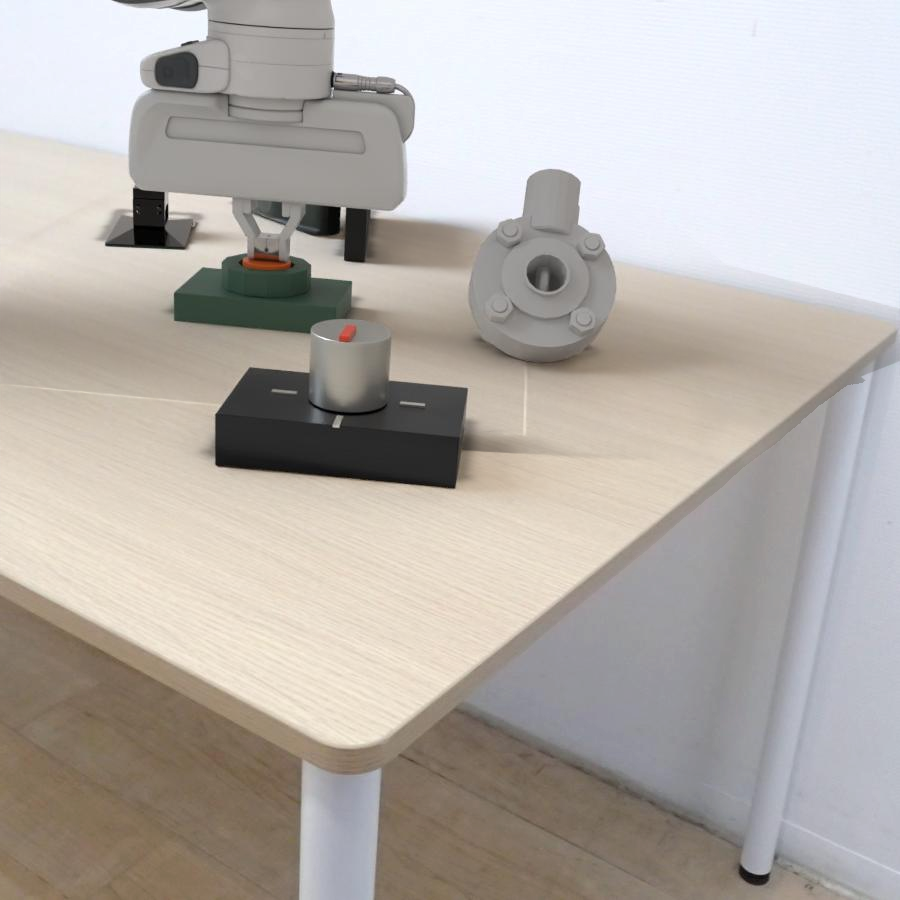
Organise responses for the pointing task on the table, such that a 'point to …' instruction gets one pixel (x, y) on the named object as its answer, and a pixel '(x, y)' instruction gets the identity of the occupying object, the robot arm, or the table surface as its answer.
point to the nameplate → (356, 233)
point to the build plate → (150, 224)
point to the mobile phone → (305, 217)
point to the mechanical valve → (543, 276)
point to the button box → (261, 297)
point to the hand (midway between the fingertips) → (268, 259)
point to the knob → (349, 365)
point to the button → (265, 264)
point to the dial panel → (342, 431)
